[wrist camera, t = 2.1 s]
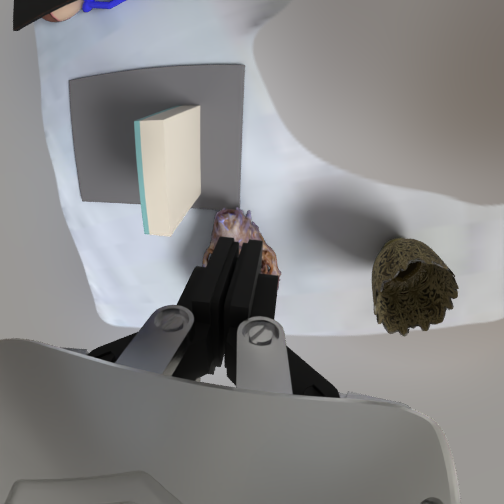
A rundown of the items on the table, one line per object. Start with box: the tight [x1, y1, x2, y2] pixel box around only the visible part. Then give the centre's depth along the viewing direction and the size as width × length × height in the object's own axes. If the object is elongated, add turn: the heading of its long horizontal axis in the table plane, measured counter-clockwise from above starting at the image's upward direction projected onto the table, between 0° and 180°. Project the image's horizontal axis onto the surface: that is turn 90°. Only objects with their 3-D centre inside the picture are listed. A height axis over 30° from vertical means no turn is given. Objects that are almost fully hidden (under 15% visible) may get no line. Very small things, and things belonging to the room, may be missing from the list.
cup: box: [372, 238, 459, 336], centre depth 26 cm, size 8×7×8 cm
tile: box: [134, 105, 201, 237], centre depth 23 cm, size 8×2×8 cm, turn 178°
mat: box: [69, 65, 245, 210], centre depth 26 cm, size 13×17×1 cm
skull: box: [203, 207, 281, 298], centre depth 29 cm, size 12×8×6 cm, turn 177°
